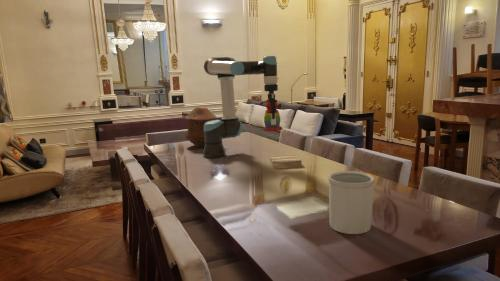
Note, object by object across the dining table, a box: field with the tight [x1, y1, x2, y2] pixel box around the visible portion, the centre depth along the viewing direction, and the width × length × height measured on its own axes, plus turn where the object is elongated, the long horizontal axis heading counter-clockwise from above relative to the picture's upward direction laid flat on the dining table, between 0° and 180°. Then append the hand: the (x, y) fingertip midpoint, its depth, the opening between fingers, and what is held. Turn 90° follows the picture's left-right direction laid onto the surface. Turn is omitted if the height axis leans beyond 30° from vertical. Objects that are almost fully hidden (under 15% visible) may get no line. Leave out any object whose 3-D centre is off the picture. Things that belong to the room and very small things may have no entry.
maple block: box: [269, 154, 302, 169], centre depth 211 cm, size 16×16×4 cm
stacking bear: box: [263, 99, 283, 133], centre depth 207 cm, size 11×10×18 cm
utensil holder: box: [327, 170, 375, 235], centre depth 122 cm, size 15×15×18 cm
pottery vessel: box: [184, 106, 217, 148], centre depth 276 cm, size 26×26×30 cm
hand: (272, 123), depth 207 cm, fingers closed on stacking bear, 9 cm apart
